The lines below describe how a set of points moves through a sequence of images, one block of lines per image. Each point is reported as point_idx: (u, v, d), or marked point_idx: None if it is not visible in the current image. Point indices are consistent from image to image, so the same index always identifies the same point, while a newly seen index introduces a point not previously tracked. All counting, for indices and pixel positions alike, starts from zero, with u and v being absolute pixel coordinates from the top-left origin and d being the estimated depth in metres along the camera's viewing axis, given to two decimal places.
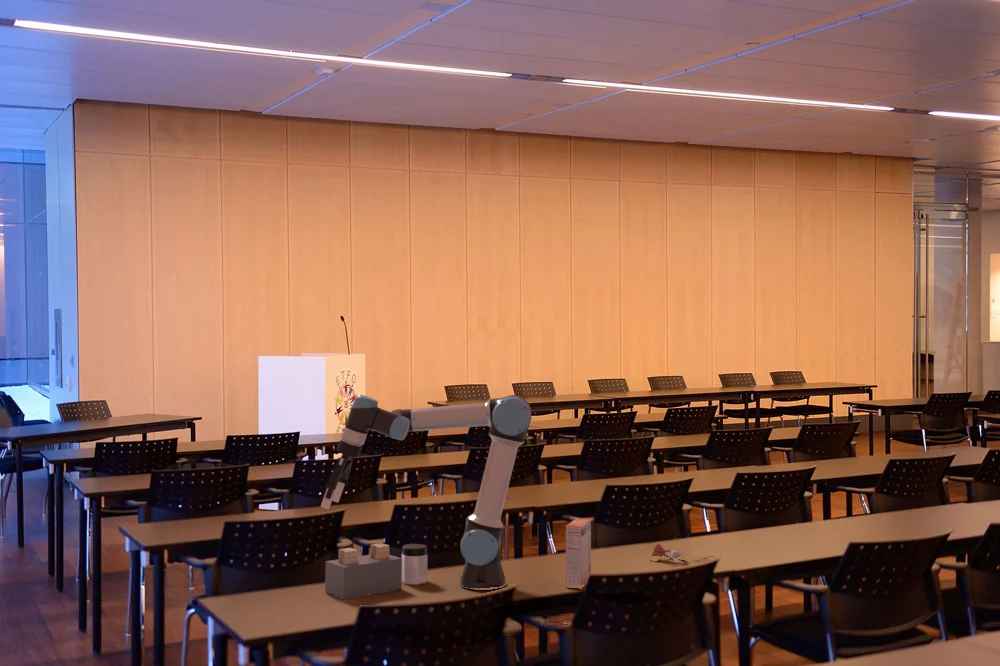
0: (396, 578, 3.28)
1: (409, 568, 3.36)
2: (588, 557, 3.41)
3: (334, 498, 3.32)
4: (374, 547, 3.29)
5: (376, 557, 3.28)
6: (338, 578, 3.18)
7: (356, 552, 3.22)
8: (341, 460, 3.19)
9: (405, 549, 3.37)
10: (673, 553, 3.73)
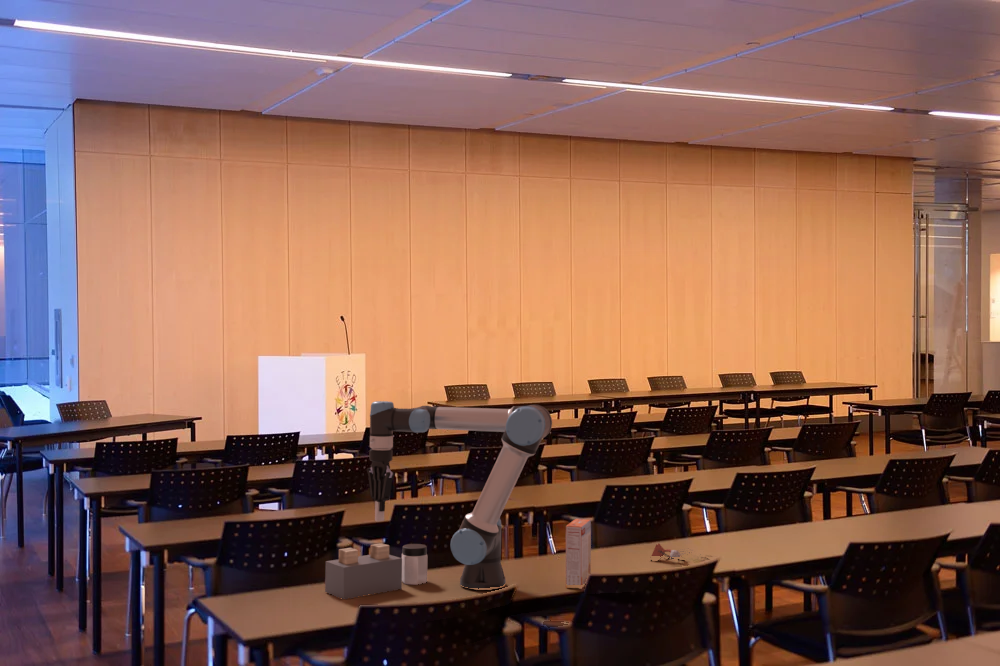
0: (396, 578, 3.28)
1: (409, 568, 3.36)
2: (588, 557, 3.41)
3: None
4: (374, 547, 3.29)
5: (376, 557, 3.28)
6: (338, 578, 3.18)
7: (356, 552, 3.22)
8: (391, 474, 3.26)
9: (405, 549, 3.37)
10: (673, 553, 3.73)
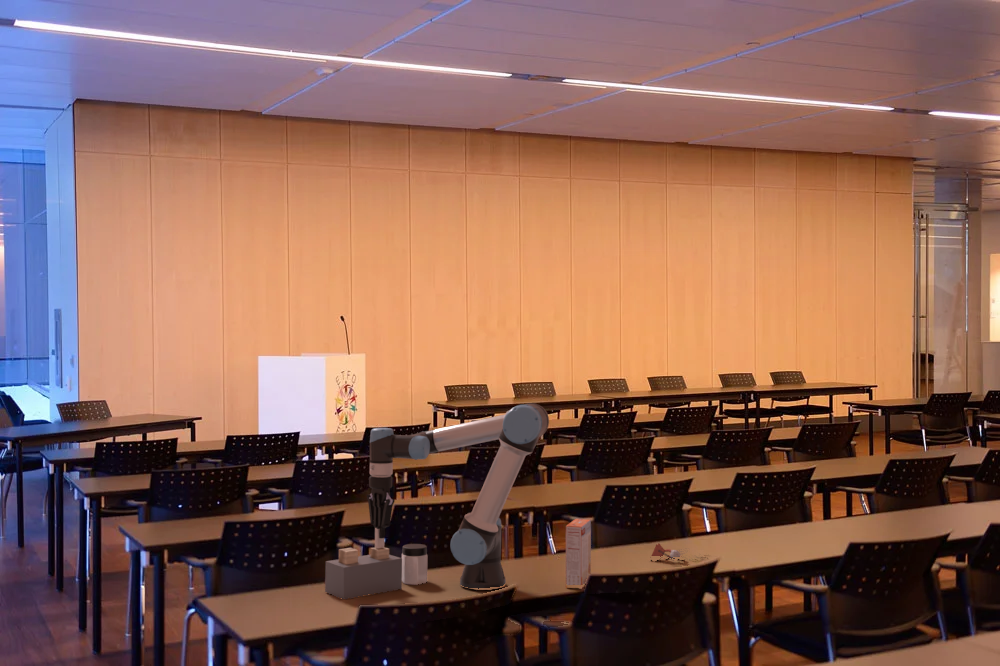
0: (396, 578, 3.28)
1: (409, 568, 3.36)
2: (588, 557, 3.41)
3: None
4: (374, 550, 3.29)
5: None
6: (338, 578, 3.18)
7: (356, 552, 3.22)
8: (391, 502, 3.26)
9: (405, 549, 3.37)
10: (673, 553, 3.73)
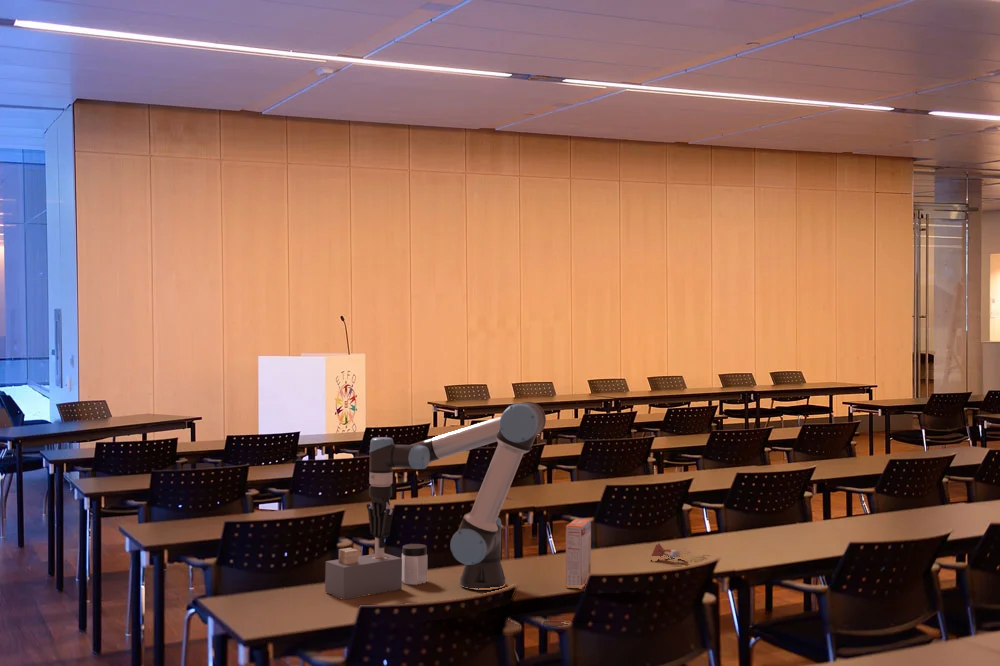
0: (396, 578, 3.28)
1: (409, 568, 3.36)
2: (588, 557, 3.41)
3: None
4: None
5: None
6: (338, 578, 3.18)
7: (356, 552, 3.22)
8: (391, 511, 3.26)
9: (405, 549, 3.37)
10: (673, 553, 3.74)
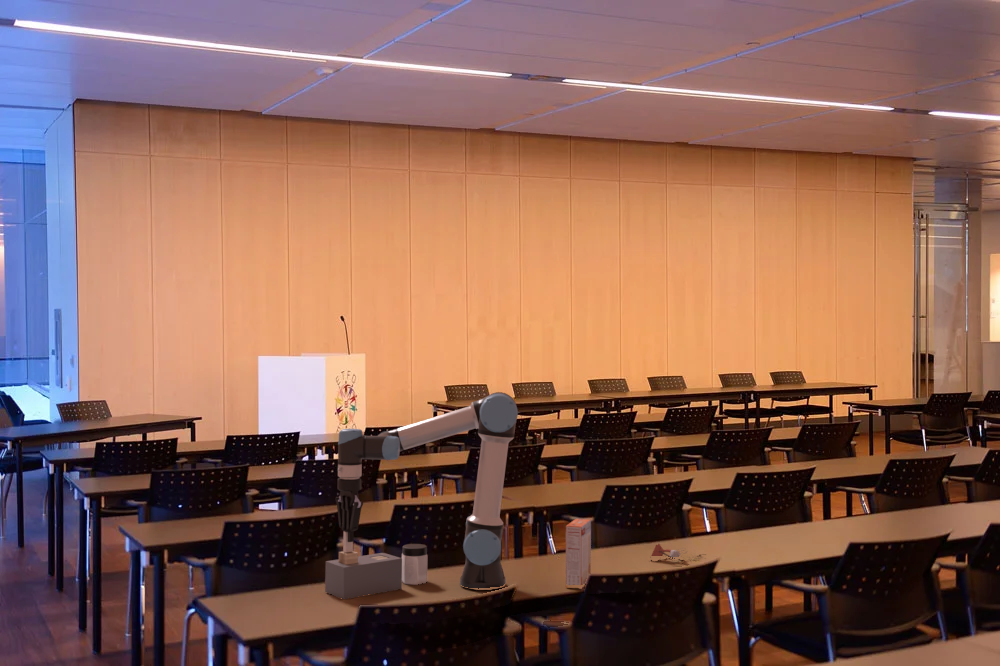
0: (396, 578, 3.28)
1: (409, 568, 3.36)
2: (588, 557, 3.41)
3: None
4: None
5: None
6: (338, 578, 3.18)
7: (356, 555, 3.22)
8: (359, 504, 3.18)
9: (405, 549, 3.37)
10: (673, 553, 3.74)
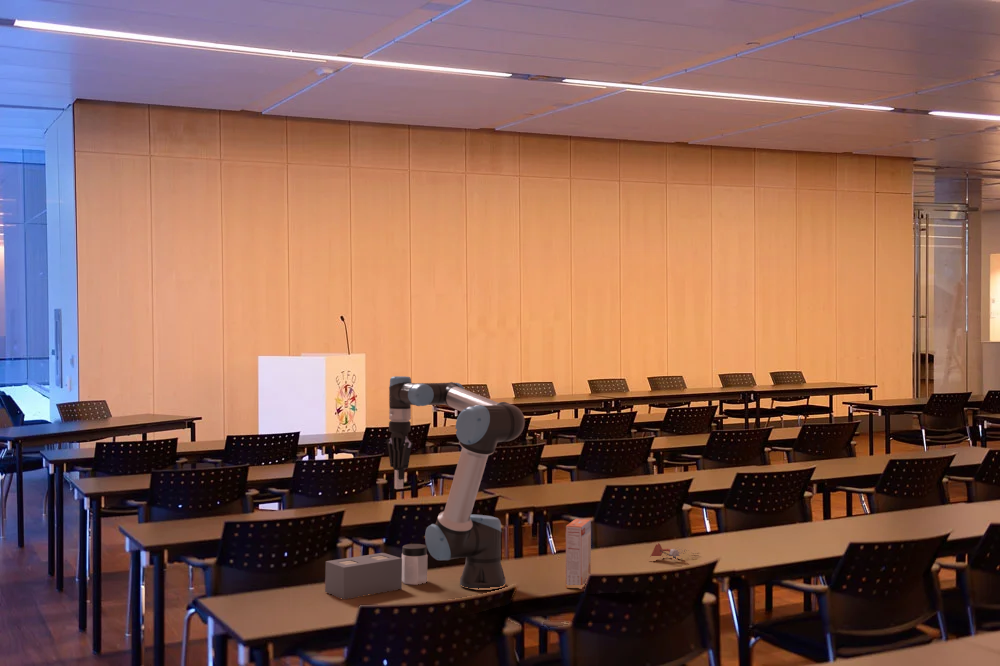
0: (396, 578, 3.28)
1: (409, 568, 3.36)
2: (588, 557, 3.41)
3: None
4: None
5: None
6: (338, 578, 3.18)
7: None
8: (409, 444, 3.48)
9: (405, 549, 3.37)
10: (673, 552, 3.75)
